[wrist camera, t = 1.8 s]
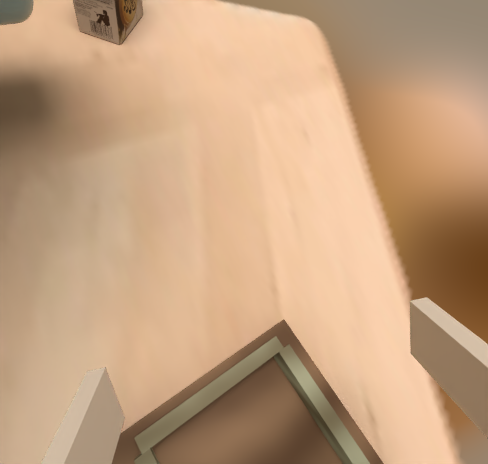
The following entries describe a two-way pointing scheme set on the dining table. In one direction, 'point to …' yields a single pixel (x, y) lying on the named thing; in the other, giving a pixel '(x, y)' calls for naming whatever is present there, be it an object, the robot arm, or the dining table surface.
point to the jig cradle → (251, 414)
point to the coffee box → (108, 18)
